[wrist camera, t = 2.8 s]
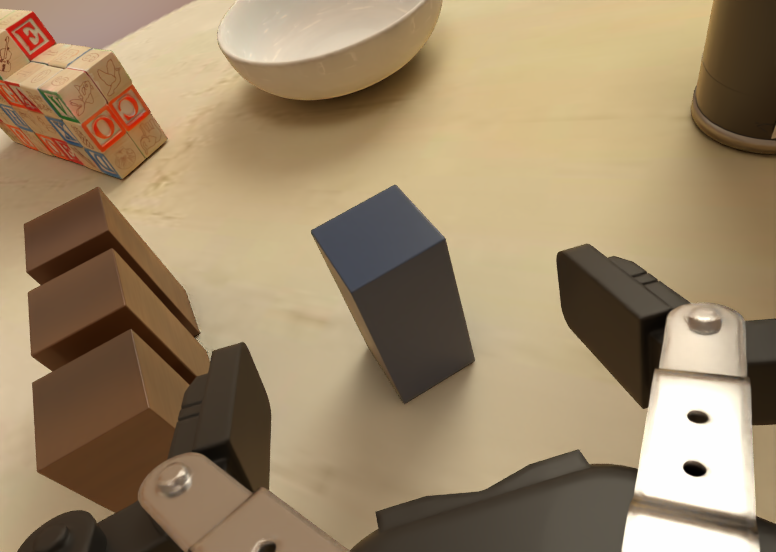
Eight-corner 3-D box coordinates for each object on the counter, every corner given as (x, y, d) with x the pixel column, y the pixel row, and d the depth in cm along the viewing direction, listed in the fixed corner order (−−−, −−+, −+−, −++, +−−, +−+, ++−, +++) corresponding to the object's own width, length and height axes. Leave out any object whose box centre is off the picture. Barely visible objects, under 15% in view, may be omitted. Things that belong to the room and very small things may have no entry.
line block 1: (200, 333, 37) (108, 229, 30) (136, 369, 37) (26, 272, 29) (185, 290, 40) (98, 186, 33) (125, 322, 40) (23, 224, 32)
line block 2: (225, 404, 33) (125, 304, 26) (153, 446, 33) (30, 356, 25) (206, 350, 36) (112, 247, 29) (140, 387, 36) (26, 292, 28)
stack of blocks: (171, 139, 54) (90, 15, 45) (123, 182, 51) (26, 59, 42) (56, 108, 65) (-28, 3, 56) (11, 142, 62) (-85, 37, 53)
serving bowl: (254, 43, 63) (226, -20, 58) (437, -11, 61) (424, -81, 56) (239, 156, 49) (201, 87, 44) (474, 93, 47) (462, 12, 42)
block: (475, 361, 31) (446, 238, 24) (404, 405, 30) (350, 292, 23) (433, 307, 34) (395, 183, 27) (367, 346, 33) (309, 230, 26)
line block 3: (256, 495, 29) (149, 407, 22) (175, 544, 29) (36, 472, 21) (232, 425, 32) (130, 328, 25) (158, 469, 32) (31, 382, 24)
